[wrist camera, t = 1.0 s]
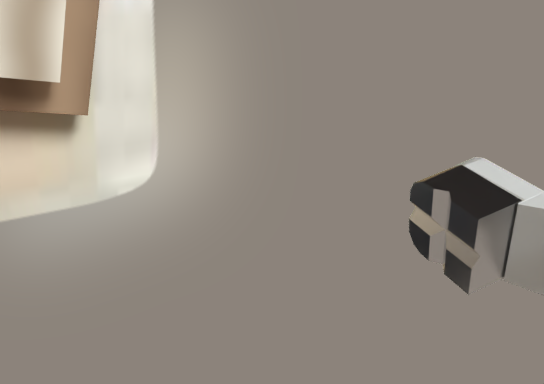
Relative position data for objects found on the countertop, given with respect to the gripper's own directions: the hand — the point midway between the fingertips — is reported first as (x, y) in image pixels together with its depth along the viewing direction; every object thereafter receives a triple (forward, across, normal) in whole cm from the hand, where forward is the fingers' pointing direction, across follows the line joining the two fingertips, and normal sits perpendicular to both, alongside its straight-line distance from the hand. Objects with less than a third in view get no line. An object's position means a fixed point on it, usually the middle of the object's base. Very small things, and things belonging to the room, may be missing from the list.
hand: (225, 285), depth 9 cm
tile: (+29, +3, +1) cm, 29 cm away
